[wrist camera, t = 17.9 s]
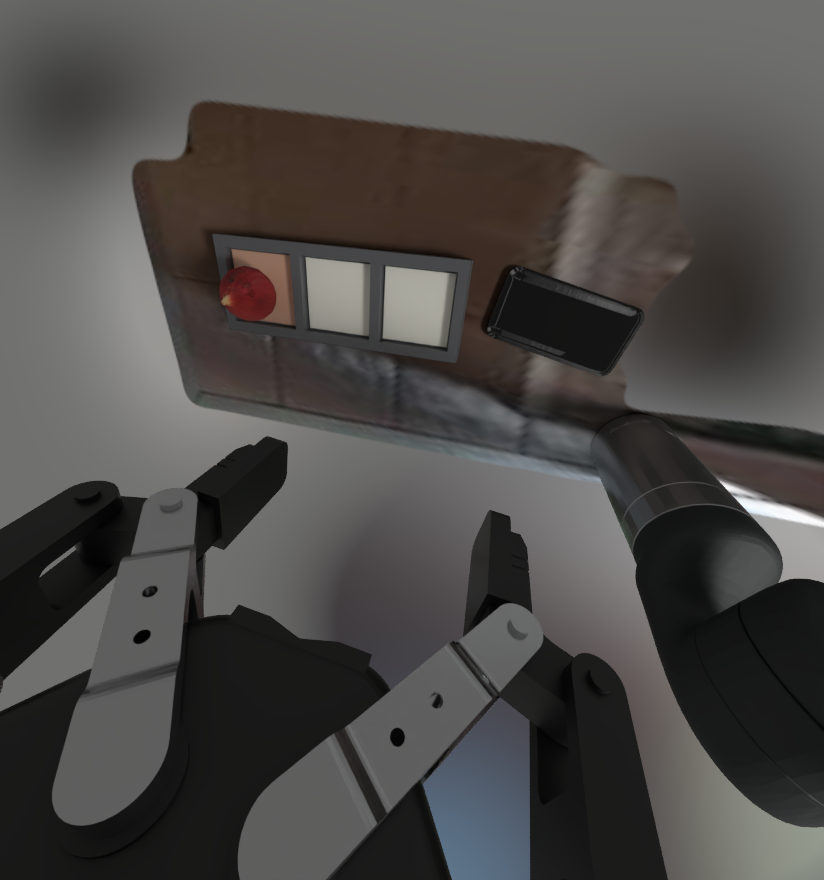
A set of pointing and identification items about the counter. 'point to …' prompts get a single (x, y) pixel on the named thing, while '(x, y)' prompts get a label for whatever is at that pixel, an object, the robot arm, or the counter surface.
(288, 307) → the terracotta key
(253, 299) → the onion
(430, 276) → the keypad
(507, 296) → the phone
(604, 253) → the counter surface
